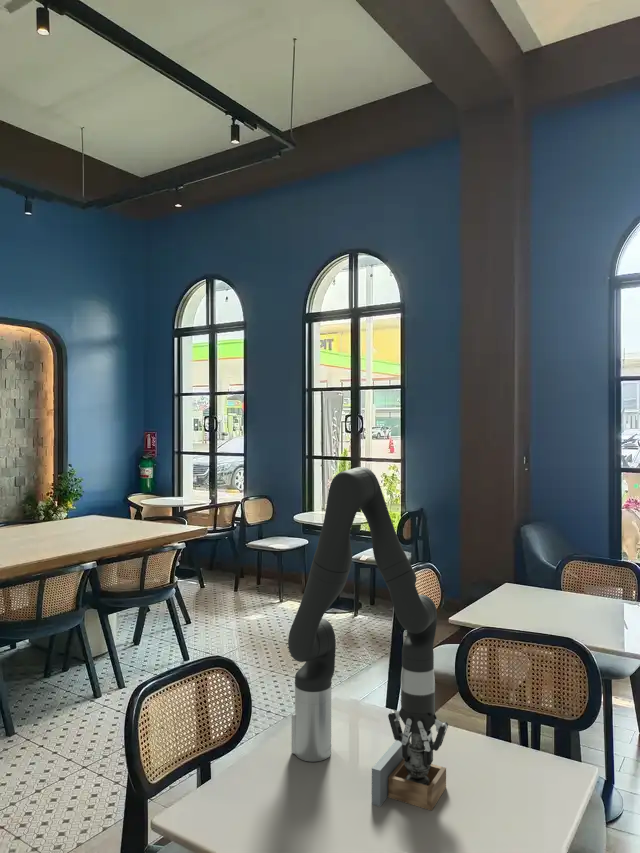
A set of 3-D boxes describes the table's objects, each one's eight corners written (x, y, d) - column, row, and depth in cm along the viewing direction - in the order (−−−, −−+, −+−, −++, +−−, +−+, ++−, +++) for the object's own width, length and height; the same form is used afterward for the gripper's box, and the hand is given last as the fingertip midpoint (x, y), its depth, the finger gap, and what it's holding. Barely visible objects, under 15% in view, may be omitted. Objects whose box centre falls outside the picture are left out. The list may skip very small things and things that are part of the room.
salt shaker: (430, 788, 141) (430, 734, 141) (403, 785, 142) (403, 731, 142) (431, 774, 147) (431, 722, 147) (405, 771, 148) (405, 719, 148)
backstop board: (371, 804, 140) (371, 768, 140) (402, 766, 156) (402, 733, 156) (380, 807, 139) (380, 770, 139) (409, 768, 155) (409, 735, 155)
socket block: (388, 797, 143) (388, 777, 143) (404, 775, 151) (404, 756, 151) (431, 810, 138) (431, 789, 138) (446, 787, 147) (446, 767, 147)
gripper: (381, 686, 145) (381, 762, 145) (443, 699, 138) (442, 779, 138) (394, 675, 151) (394, 747, 151) (453, 687, 144) (453, 763, 144)
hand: (417, 762), depth 145 cm, fingers closed on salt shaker, 4 cm apart
